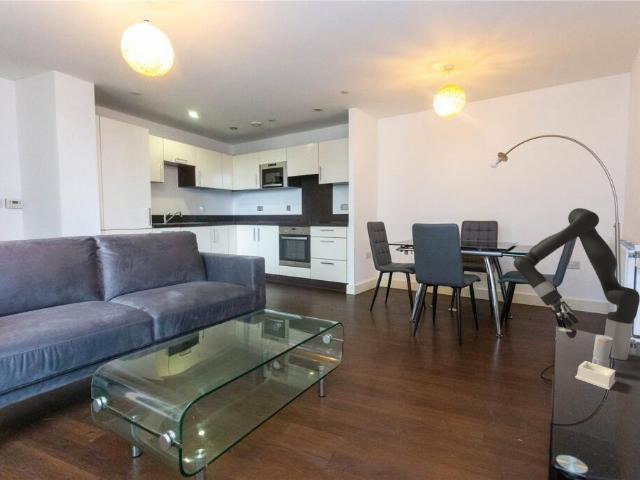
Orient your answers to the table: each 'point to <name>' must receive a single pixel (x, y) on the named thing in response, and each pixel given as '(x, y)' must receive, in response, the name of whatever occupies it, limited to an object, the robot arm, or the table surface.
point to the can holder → (596, 375)
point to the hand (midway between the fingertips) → (574, 324)
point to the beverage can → (602, 350)
